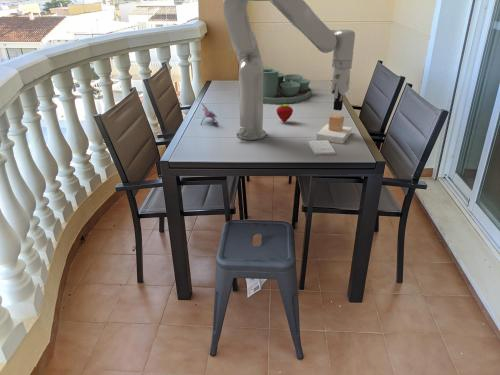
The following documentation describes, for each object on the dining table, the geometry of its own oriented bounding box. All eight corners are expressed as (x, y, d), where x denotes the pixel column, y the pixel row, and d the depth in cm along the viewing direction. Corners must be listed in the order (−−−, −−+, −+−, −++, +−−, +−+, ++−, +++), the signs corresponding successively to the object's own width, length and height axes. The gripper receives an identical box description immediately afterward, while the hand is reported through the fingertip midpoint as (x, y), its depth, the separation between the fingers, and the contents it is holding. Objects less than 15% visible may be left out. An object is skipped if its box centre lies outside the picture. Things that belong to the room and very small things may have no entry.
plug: (339, 137, 168) (341, 118, 165) (327, 135, 170) (329, 116, 167) (342, 134, 172) (344, 115, 168) (330, 132, 174) (332, 114, 170)
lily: (216, 130, 181) (223, 110, 180) (191, 120, 178) (198, 100, 177) (214, 129, 192) (222, 110, 191) (191, 120, 190) (198, 101, 189)
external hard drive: (328, 143, 164) (335, 155, 153) (308, 144, 164) (314, 156, 152) (328, 140, 163) (336, 151, 152) (308, 140, 163) (314, 152, 152)
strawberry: (292, 124, 184) (293, 103, 179) (275, 123, 185) (276, 102, 180) (292, 120, 189) (293, 99, 184) (276, 119, 190) (277, 98, 185)
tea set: (320, 102, 216) (322, 71, 209) (246, 106, 210) (246, 74, 203) (299, 85, 251) (301, 57, 243) (236, 88, 245) (235, 60, 237)
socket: (342, 143, 162) (343, 137, 161) (316, 139, 167) (316, 133, 165) (351, 133, 173) (351, 127, 172) (326, 129, 178) (327, 123, 176)
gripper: (346, 68, 150) (341, 115, 159) (356, 61, 162) (351, 106, 170) (327, 66, 153) (323, 113, 162) (337, 59, 165) (333, 104, 173)
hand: (337, 109), depth 166 cm, fingers closed
